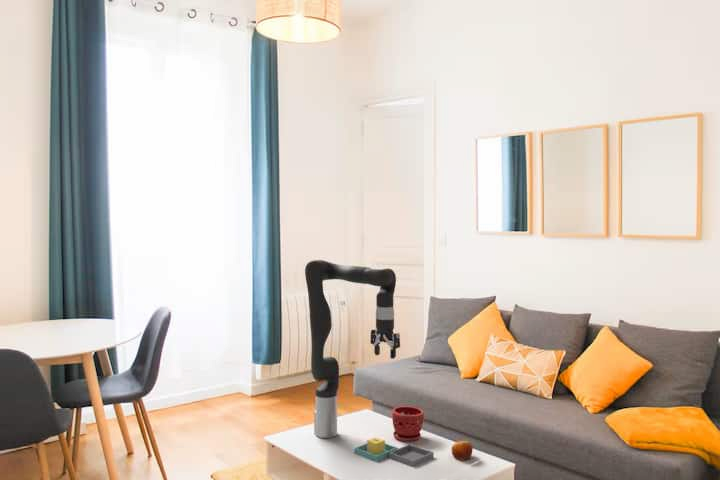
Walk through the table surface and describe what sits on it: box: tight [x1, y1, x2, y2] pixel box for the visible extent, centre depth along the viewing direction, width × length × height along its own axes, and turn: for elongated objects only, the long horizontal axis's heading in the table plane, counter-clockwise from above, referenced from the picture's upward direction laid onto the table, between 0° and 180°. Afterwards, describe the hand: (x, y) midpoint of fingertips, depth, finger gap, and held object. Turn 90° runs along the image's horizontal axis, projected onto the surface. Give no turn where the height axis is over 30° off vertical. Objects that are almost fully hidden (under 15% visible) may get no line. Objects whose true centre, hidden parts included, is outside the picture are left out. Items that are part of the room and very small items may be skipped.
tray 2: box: [388, 444, 435, 468], centre depth 233 cm, size 12×12×2 cm
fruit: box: [451, 440, 474, 461], centre depth 233 cm, size 8×8×8 cm
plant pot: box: [391, 406, 424, 442], centre depth 255 cm, size 13×13×12 cm
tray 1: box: [353, 442, 399, 462], centre depth 238 cm, size 12×12×2 cm
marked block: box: [366, 436, 386, 455], centre depth 238 cm, size 5×5×5 cm
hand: (385, 356), depth 248 cm, fingers open, 8 cm apart
